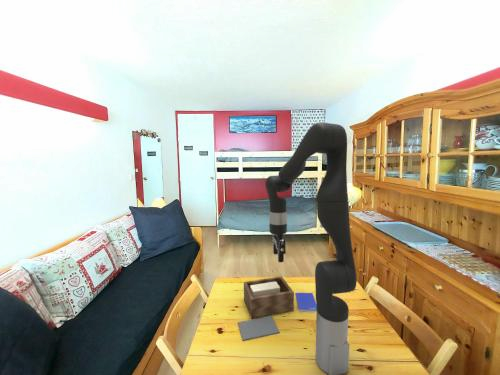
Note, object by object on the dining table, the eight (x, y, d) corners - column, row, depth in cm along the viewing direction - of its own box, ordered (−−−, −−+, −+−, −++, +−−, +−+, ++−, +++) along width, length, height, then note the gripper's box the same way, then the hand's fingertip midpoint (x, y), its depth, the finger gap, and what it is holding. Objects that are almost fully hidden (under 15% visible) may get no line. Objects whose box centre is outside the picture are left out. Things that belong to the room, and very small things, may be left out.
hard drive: (318, 310, 95) (312, 292, 108) (298, 309, 96) (295, 292, 108) (318, 313, 96) (312, 295, 108) (298, 312, 96) (295, 295, 108)
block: (253, 302, 96) (253, 291, 95) (250, 296, 101) (250, 285, 100) (280, 298, 99) (280, 287, 98) (275, 291, 104) (275, 281, 103)
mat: (279, 333, 85) (279, 331, 85) (242, 341, 81) (242, 339, 81) (271, 316, 93) (271, 315, 93) (237, 323, 90) (237, 322, 90)
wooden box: (251, 319, 92) (251, 299, 91) (244, 299, 105) (243, 282, 104) (293, 311, 97) (293, 292, 95) (281, 293, 109) (281, 276, 108)
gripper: (291, 225, 92) (291, 264, 94) (282, 217, 106) (282, 251, 108) (273, 226, 91) (273, 265, 93) (266, 218, 105) (266, 252, 107)
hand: (278, 257), depth 100 cm, fingers open, 8 cm apart
